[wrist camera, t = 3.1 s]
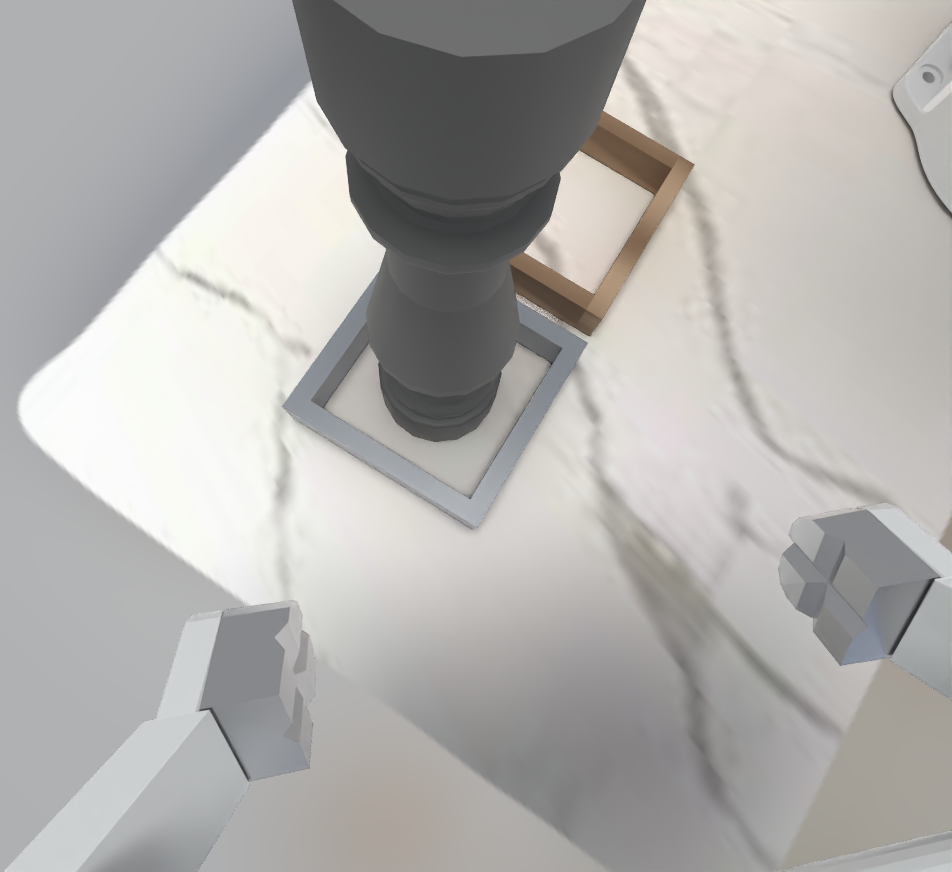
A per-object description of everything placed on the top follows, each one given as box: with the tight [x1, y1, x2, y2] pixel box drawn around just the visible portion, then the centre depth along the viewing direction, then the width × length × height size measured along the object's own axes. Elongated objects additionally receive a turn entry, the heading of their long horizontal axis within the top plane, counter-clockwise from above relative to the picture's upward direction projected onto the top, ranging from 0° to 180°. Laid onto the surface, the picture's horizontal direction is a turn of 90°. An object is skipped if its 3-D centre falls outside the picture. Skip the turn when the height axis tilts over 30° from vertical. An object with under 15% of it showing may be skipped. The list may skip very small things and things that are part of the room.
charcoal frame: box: [282, 272, 588, 530], centre depth 31 cm, size 11×11×2 cm
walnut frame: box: [510, 111, 695, 336], centre depth 34 cm, size 11×11×2 cm
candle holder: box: [292, 0, 646, 442], centre depth 20 cm, size 6×6×25 cm
